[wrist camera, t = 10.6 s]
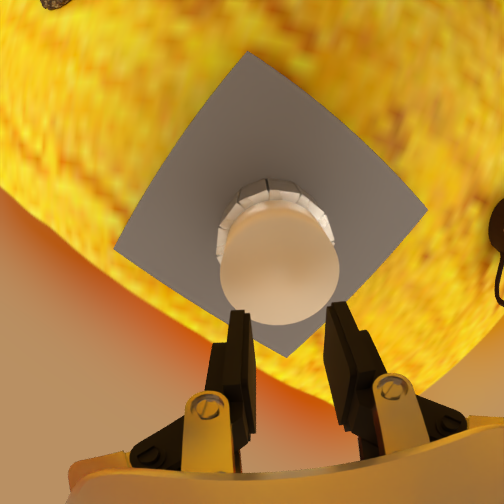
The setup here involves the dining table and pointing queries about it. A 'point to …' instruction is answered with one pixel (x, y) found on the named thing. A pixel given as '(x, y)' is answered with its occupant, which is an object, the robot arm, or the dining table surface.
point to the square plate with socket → (266, 193)
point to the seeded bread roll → (53, 3)
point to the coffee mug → (498, 242)
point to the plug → (278, 263)
